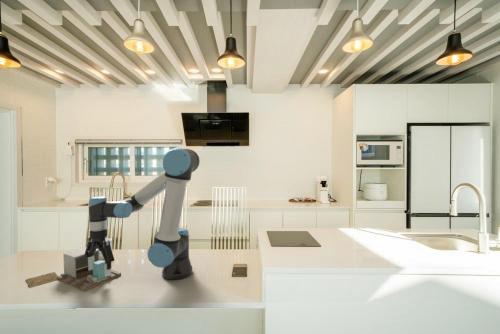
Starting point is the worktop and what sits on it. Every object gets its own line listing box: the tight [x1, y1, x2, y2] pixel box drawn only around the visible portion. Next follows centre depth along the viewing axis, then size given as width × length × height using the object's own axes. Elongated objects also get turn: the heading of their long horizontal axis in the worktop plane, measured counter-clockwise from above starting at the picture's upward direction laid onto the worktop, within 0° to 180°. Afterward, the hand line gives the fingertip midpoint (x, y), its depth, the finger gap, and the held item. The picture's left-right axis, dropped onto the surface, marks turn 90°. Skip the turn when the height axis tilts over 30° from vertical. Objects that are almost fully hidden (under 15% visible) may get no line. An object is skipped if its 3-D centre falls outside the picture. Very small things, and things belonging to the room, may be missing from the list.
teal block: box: [93, 259, 106, 281], centre depth 129 cm, size 4×4×8 cm
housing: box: [63, 246, 101, 278], centre depth 136 cm, size 10×12×10 cm
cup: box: [99, 237, 113, 260], centre depth 160 cm, size 8×12×10 cm
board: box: [57, 266, 122, 292], centre depth 133 cm, size 24×18×3 cm
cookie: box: [25, 271, 60, 289], centre depth 130 cm, size 12×12×1 cm
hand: (99, 272), depth 129 cm, fingers open, 13 cm apart
